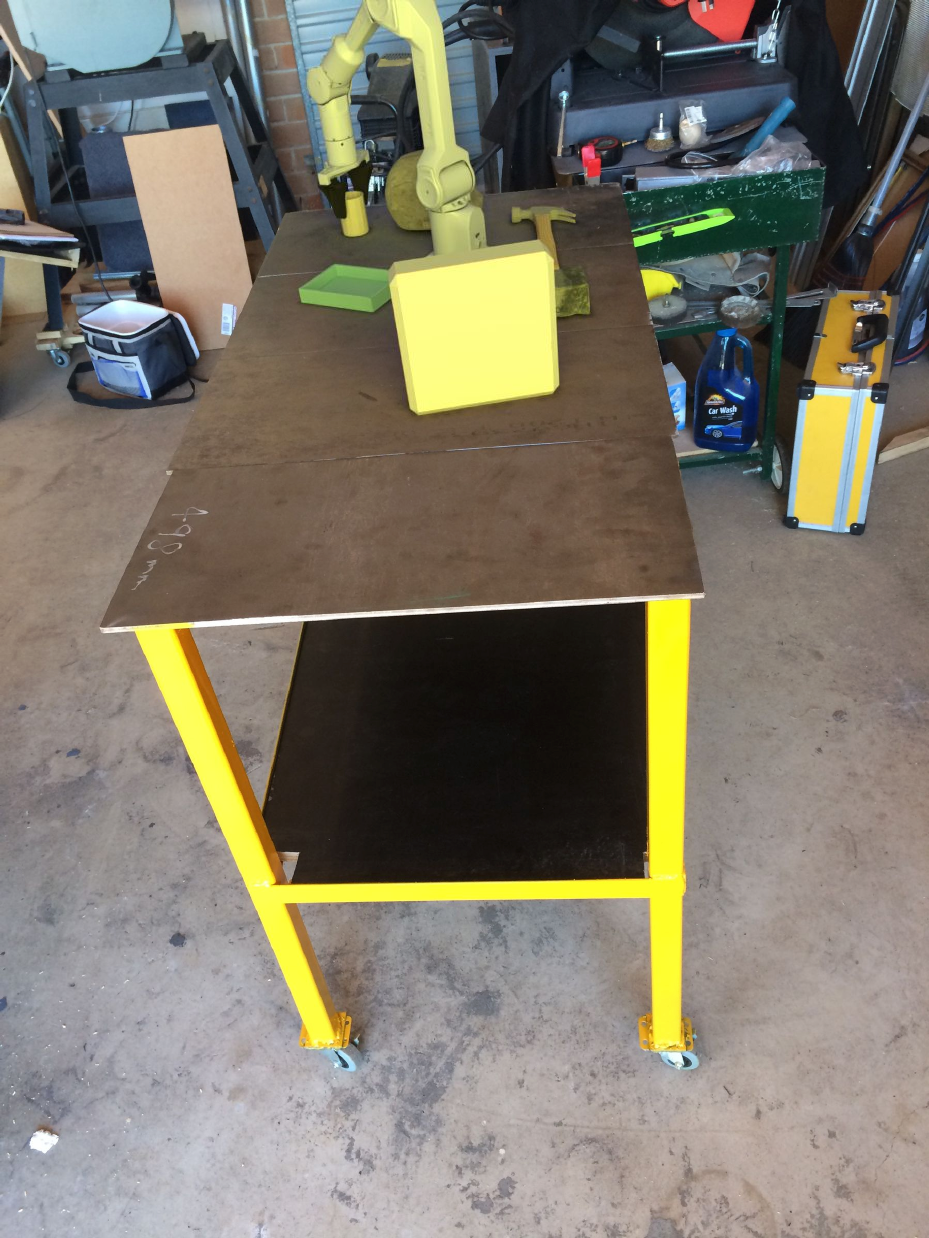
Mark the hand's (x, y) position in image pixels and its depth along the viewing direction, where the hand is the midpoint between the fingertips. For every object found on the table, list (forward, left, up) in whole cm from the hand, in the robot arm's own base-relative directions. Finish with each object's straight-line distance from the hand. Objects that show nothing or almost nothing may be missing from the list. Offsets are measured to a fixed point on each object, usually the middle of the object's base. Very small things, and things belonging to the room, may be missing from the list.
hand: (352, 211), depth 185 cm
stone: (-16, -5, -4) cm, 17 cm away
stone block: (-52, +23, -4) cm, 57 cm away
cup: (0, 0, -4) cm, 4 cm away
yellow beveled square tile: (-56, +51, -4) cm, 76 cm away
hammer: (-41, -2, -4) cm, 41 cm away
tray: (-17, +26, -4) cm, 31 cm away
